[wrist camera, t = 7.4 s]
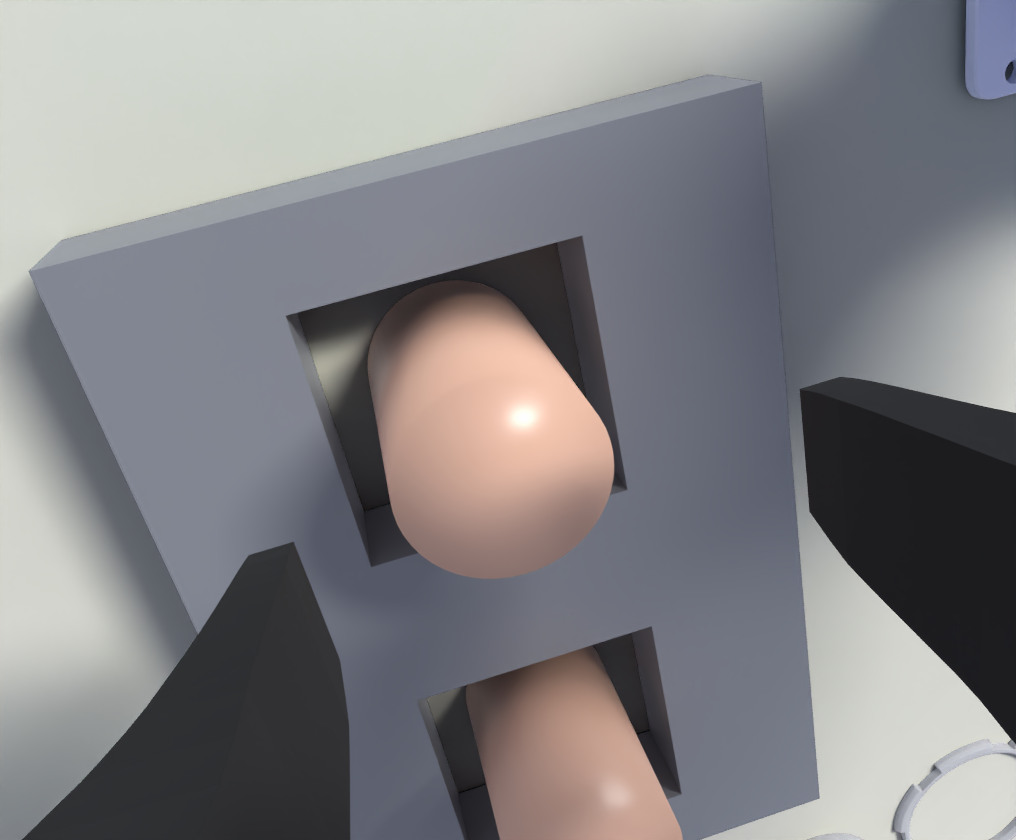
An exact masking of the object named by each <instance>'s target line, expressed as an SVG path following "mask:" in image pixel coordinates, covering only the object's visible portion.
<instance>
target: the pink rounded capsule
mask: <svg viewBox="0 0 1016 840" xmlns="http://www.w3.org/2000/svg"><path fill="white" fill-rule="evenodd" d="M367 365H368V377H369V383H370V389H371V394H372V400H373V406H374V411H375V417H376V423H377V429H378V434H379V440H380V446H381V452H382V457H383V463H384V469H385V474H386V480H387V486H388V492H389V497H390V502H391V507H392V512H393V515H394V517H395V520H396V523H397V525H398V527H399V528H400V530H401V532H402V534H403V536H404V537H405V538H406V540H407V541H408V542H409V543H410V545H411V546H412V547H413V548H414V549H415V550H416V551H417V552H418V553H419V554H420V555H421V556H423V557H424V558H426V559H427V560H428V561H430V562H431V563H433V564H435V565H437V566H438V567H440V568H442V569H444V570H447V571H450V572H452V573H455V574H458V575H462V576H467V577H472V578H481V579H500V578H509V577H514V576H519V575H523V574H527V573H530V572H532V571H535V570H538V569H540V568H543V567H545V566H547V565H549V564H551V563H553V562H554V561H556V560H558V559H559V558H561V557H563V556H564V555H565V554H567V553H568V552H569V551H571V550H572V549H573V548H574V547H576V546H577V545H578V544H579V543H580V542H581V541H582V540H583V539H584V538H585V537H586V535H587V534H588V533H589V532H590V531H591V529H592V528H593V527H594V525H595V524H596V522H597V521H598V519H599V518H600V516H601V514H602V512H603V510H604V508H605V506H606V504H607V501H608V498H609V495H610V492H611V488H612V483H613V478H614V456H613V449H612V445H611V441H610V437H609V435H608V432H607V430H606V427H605V426H604V424H603V422H602V421H601V419H600V417H599V415H598V414H597V413H596V411H595V410H594V409H593V407H592V406H591V405H590V403H589V402H588V401H587V399H586V398H585V397H584V395H583V394H582V392H581V391H580V390H579V388H578V387H577V386H576V384H575V383H574V382H573V380H572V379H571V378H570V376H569V375H568V373H567V372H566V371H565V369H564V368H563V367H562V365H561V364H560V363H559V361H558V360H557V359H556V357H555V356H554V354H553V353H552V352H551V350H550V349H549V348H548V346H547V345H546V344H545V342H544V341H543V340H542V338H541V337H540V336H539V334H538V333H537V331H536V330H535V329H534V327H533V326H532V325H531V323H530V322H529V321H528V319H527V318H526V317H525V315H524V314H523V313H522V311H521V310H520V309H519V308H518V306H517V305H516V304H515V303H513V302H512V301H511V300H510V299H509V298H508V297H506V296H505V295H503V294H502V293H501V292H499V291H497V290H495V289H493V288H491V287H488V286H486V285H483V284H480V283H475V282H471V281H460V280H454V281H443V282H437V283H433V284H430V285H427V286H424V287H421V288H419V289H417V290H415V291H413V292H411V293H410V294H408V295H406V296H405V297H403V298H402V299H401V300H400V301H398V302H397V303H396V304H395V305H394V306H393V307H392V308H391V309H390V310H389V311H388V312H387V313H386V315H385V316H384V317H383V319H382V320H381V322H380V323H379V325H378V327H377V329H376V331H375V332H374V335H373V338H372V341H371V344H370V348H369V353H368V364H367Z"/></svg>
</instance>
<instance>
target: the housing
mask: <svg viewBox="0 0 1016 840" xmlns="http://www.w3.org/2000/svg"><path fill="white" fill-rule="evenodd" d="M556 242H557V246H558V252H559V257H560V262H561V267H562V272H563V278H564V283H565V288H566V293H567V299H568V304H569V309H570V314H571V319H572V325H573V330H574V335H575V340H576V346H577V351H578V356H579V361H580V366H581V372H582V377H583V382H584V387H585V393H586V398H587V401H588V402H589V403H590V405H591V406H592V407H593V409H594V410H595V411H596V413H597V414H598V415H599V417H600V419H601V421H602V422H603V424H604V426H605V427H606V430H607V432H608V435H609V437H610V441H611V445H612V449H613V456H614V478H613V483H612V488H611V492H610V495H609V498H608V501H607V504H606V506H605V508H604V510H603V512H602V514H601V516H600V518H599V519H598V521H597V522H596V524H595V525H594V527H593V528H592V529H591V531H590V532H589V533H588V534H587V535H586V537H585V538H584V539H583V540H582V541H581V542H580V543H579V544H578V545H577V546H576V547H574V548H573V549H572V550H571V551H569V552H568V553H567V554H565V555H564V556H563V557H561V558H559V559H558V560H556V561H554V562H553V563H551V564H549V565H547V566H545V567H543V568H540V569H538V570H535V571H532V572H530V573H527V574H523V575H519V576H514V577H509V578H500V579H481V578H472V577H467V576H462V575H458V574H455V573H452V572H450V571H447V570H444V569H442V568H440V567H438V566H437V565H435V564H433V563H431V562H430V561H428V560H427V559H426V558H424V557H423V556H421V555H420V554H419V553H418V552H417V551H416V550H415V549H414V548H413V547H412V546H411V545H410V543H409V542H408V541H407V540H406V538H405V537H404V536H403V534H402V532H401V530H400V528H399V527H398V525H397V523H396V520H395V517H394V515H393V512H392V507H391V504H388V505H385V506H381V507H378V508H375V509H371V510H368V511H365V512H364V511H363V508H362V505H361V502H360V499H359V496H358V493H357V490H356V487H355V484H354V481H353V478H352V475H351V472H350V469H349V466H348V463H347V460H346V457H345V454H344V451H343V448H342V445H341V442H340V439H339V436H338V433H337V430H336V427H335V424H334V421H333V418H332V415H331V412H330V409H329V406H328V403H327V400H326V397H325V394H324V391H323V388H322V385H321V382H320V379H319V376H318V373H317V370H316V367H315V364H314V361H313V359H312V356H311V353H310V350H309V347H308V344H307V341H306V338H305V335H304V332H303V329H302V326H301V323H300V320H299V317H298V314H297V313H298V312H301V311H305V310H309V309H313V308H316V307H320V306H324V305H327V304H331V303H335V302H338V301H342V300H346V299H350V298H353V297H357V296H361V295H364V294H368V293H372V292H375V291H379V290H383V289H386V288H390V287H394V286H398V285H401V284H405V283H409V282H412V281H416V280H420V279H423V278H427V277H431V276H434V275H438V274H442V273H446V272H449V271H453V270H457V269H460V268H464V267H468V266H471V265H475V264H479V263H482V262H486V261H490V260H494V259H497V258H501V257H505V256H508V255H512V254H516V253H519V252H523V251H527V250H530V249H534V248H538V247H542V246H545V245H549V244H553V243H556ZM29 273H30V275H31V278H32V280H33V282H34V284H35V286H36V288H37V290H38V293H39V295H40V297H41V299H42V301H43V303H44V305H45V308H46V310H47V312H48V314H49V316H50V318H51V320H52V323H53V325H54V327H55V329H56V331H57V333H58V335H59V338H60V340H61V342H62V344H63V346H64V348H65V351H66V353H67V355H68V357H69V359H70V361H71V363H72V366H73V368H74V370H75V372H76V374H77V376H78V378H79V381H80V383H81V385H82V387H83V389H84V391H85V393H86V396H87V398H88V400H89V402H90V404H91V406H92V408H93V411H94V413H95V415H96V417H97V419H98V421H99V423H100V426H101V428H102V430H103V432H104V434H105V436H106V439H107V441H108V443H109V445H110V447H111V449H112V451H113V454H114V456H115V458H116V460H117V462H118V464H119V466H120V469H121V471H122V473H123V475H124V477H125V479H126V481H127V484H128V486H129V488H130V490H131V492H132V494H133V496H134V499H135V501H136V503H137V505H138V507H139V509H140V512H141V514H142V516H143V518H144V520H145V522H146V524H147V527H148V529H149V531H150V533H151V535H152V537H153V539H154V542H155V544H156V546H157V548H158V550H159V552H160V554H161V557H162V559H163V561H164V563H165V565H166V567H167V569H168V572H169V574H170V576H171V578H172V580H173V582H174V584H175V587H176V589H177V591H178V593H179V595H180V597H181V600H182V602H183V604H184V606H185V608H186V610H187V612H188V615H189V617H190V619H191V621H192V623H193V625H194V627H195V630H196V632H197V634H199V632H200V631H201V629H202V628H203V626H204V625H205V623H206V622H207V620H208V618H209V617H210V615H211V614H212V612H213V611H214V609H215V608H216V606H217V604H218V603H219V601H220V600H221V598H222V596H223V595H224V593H225V591H226V590H227V588H228V587H229V585H230V583H231V582H232V580H233V578H234V577H235V575H236V574H237V572H238V570H239V569H240V567H241V566H242V564H243V563H244V561H245V560H246V558H247V557H248V555H251V554H254V553H258V552H261V551H264V550H267V549H271V548H274V547H277V546H281V545H284V544H287V543H291V542H294V544H295V546H296V549H297V551H298V554H299V556H300V559H301V562H302V564H303V567H304V569H305V572H306V574H307V577H308V579H309V582H310V584H311V587H312V590H313V592H314V595H315V597H316V600H317V602H318V605H319V607H320V610H321V613H322V615H323V618H324V620H325V623H326V625H327V628H328V630H329V633H330V635H331V638H332V641H333V643H334V646H335V648H336V651H337V653H338V656H339V658H340V663H341V670H342V676H343V683H344V690H345V697H346V704H347V712H348V719H349V737H350V840H500V837H499V833H498V829H497V825H496V821H495V817H494V813H493V809H492V805H491V801H490V797H489V793H488V789H487V784H486V785H483V786H480V787H477V788H474V789H471V790H468V791H465V792H462V793H459V794H458V791H457V788H456V785H455V782H454V779H453V776H452V774H451V771H450V768H449V765H448V762H447V759H446V756H445V753H444V750H443V747H442V744H441V741H440V738H439V735H438V732H437V729H436V726H435V723H434V720H433V717H432V714H431V711H430V708H429V705H428V702H427V699H426V698H428V697H431V696H434V695H437V694H440V693H443V692H446V691H450V690H453V689H456V688H459V687H462V686H465V685H468V684H472V683H475V682H478V681H481V680H484V679H487V678H490V677H494V676H497V675H500V674H503V673H506V672H509V671H512V670H516V669H519V668H522V667H525V666H528V665H531V664H534V663H538V662H541V661H544V660H547V659H550V658H553V657H556V656H560V655H563V654H566V653H569V652H572V651H575V650H578V649H582V648H585V647H588V646H591V645H594V644H597V643H600V642H604V641H607V640H610V639H613V638H616V637H619V636H622V635H626V634H629V633H632V638H633V643H634V648H635V654H636V659H637V664H638V669H639V674H640V680H641V685H642V690H643V695H644V701H645V706H646V711H647V716H648V721H649V727H650V731H647V732H644V733H641V734H638V735H637V737H638V739H639V741H640V743H641V745H642V747H643V749H644V752H645V754H646V756H647V758H648V760H649V762H650V764H651V766H652V769H653V771H654V773H655V775H656V777H657V779H658V781H659V783H660V785H661V788H662V790H663V792H664V794H665V796H666V798H667V800H668V802H669V805H670V807H671V809H672V811H673V813H674V815H675V817H676V819H677V822H678V824H679V826H680V828H681V832H682V838H683V840H700V839H703V838H706V837H709V836H712V835H715V834H718V833H720V832H723V831H726V830H729V829H732V828H735V827H738V826H741V825H744V824H747V823H749V822H752V821H755V820H758V819H761V818H764V817H767V816H770V815H773V814H776V813H778V812H781V811H784V810H787V809H790V808H793V807H796V806H799V805H802V804H805V803H807V802H810V801H813V800H816V799H819V785H818V773H817V761H816V749H815V736H814V724H813V712H812V699H811V687H810V675H809V663H808V650H807V638H806V626H805V613H804V601H803V589H802V577H801V564H800V552H799V540H798V527H797V515H796V503H795V491H794V478H793V466H792V454H791V441H790V429H789V417H788V405H787V392H786V380H785V368H784V355H783V343H782V331H781V318H780V306H779V294H778V282H777V269H776V257H775V245H774V232H773V220H772V208H771V196H770V183H769V171H768V159H767V146H766V134H765V122H764V110H763V97H762V85H761V82H757V81H750V80H743V79H736V78H729V77H722V76H715V75H705V76H701V77H697V78H693V79H689V80H685V81H682V82H678V83H674V84H670V85H666V86H662V87H658V88H654V89H650V90H646V91H642V92H639V93H635V94H631V95H627V96H623V97H619V98H615V99H611V100H607V101H603V102H599V103H596V104H592V105H588V106H584V107H580V108H576V109H572V110H568V111H564V112H560V113H556V114H553V115H549V116H545V117H541V118H537V119H533V120H529V121H525V122H521V123H517V124H514V125H510V126H506V127H502V128H498V129H494V130H490V131H486V132H482V133H478V134H474V135H471V136H467V137H463V138H459V139H455V140H451V141H447V142H443V143H439V144H435V145H431V146H428V147H424V148H420V149H416V150H412V151H408V152H404V153H400V154H396V155H392V156H388V157H385V158H381V159H377V160H373V161H369V162H365V163H361V164H357V165H353V166H349V167H346V168H342V169H338V170H334V171H330V172H326V173H322V174H318V175H314V176H310V177H306V178H303V179H299V180H295V181H291V182H287V183H283V184H279V185H275V186H271V187H267V188H263V189H260V190H256V191H252V192H248V193H244V194H240V195H236V196H232V197H228V198H224V199H220V200H217V201H213V202H209V203H205V204H201V205H197V206H193V207H189V208H185V209H181V210H178V211H174V212H170V213H166V214H162V215H158V216H154V217H150V218H146V219H142V220H138V221H135V222H131V223H127V224H123V225H119V226H115V227H111V228H107V229H103V230H99V231H95V232H92V233H88V234H84V235H80V236H76V237H72V238H68V239H64V240H61V241H60V242H59V243H58V244H57V245H56V246H55V247H54V248H53V249H52V250H51V251H50V252H49V253H48V254H47V255H45V256H44V257H43V258H42V259H41V260H40V261H39V262H38V263H37V264H36V265H35V266H34V267H33V268H32V269H31V270H30V271H29Z"/></svg>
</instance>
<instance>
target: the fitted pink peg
mask: <svg viewBox="0 0 1016 840" xmlns="http://www.w3.org/2000/svg"><path fill="white" fill-rule="evenodd" d="M466 703H467V707H468V711H469V715H470V720H471V724H472V728H473V732H474V736H475V740H476V744H477V748H478V752H479V756H480V760H481V764H482V768H483V772H484V776H485V780H486V784H487V789H488V793H489V797H490V801H491V805H492V809H493V813H494V817H495V821H496V825H497V829H498V833H499V837H500V840H683V838H682V832H681V828H680V826H679V824H678V822H677V819H676V817H675V815H674V813H673V811H672V809H671V807H670V805H669V802H668V800H667V798H666V796H665V794H664V792H663V790H662V788H661V785H660V783H659V781H658V779H657V777H656V775H655V773H654V771H653V769H652V766H651V764H650V762H649V760H648V758H647V756H646V754H645V752H644V749H643V747H642V745H641V743H640V741H639V739H638V737H637V735H636V732H635V730H634V728H633V726H632V724H631V722H630V720H629V718H628V716H627V713H626V711H625V709H624V707H623V705H622V703H621V701H620V699H619V696H618V694H617V692H616V690H615V688H614V686H613V684H612V682H611V679H610V677H609V675H608V673H607V671H606V669H605V667H604V665H603V663H602V660H601V658H600V656H599V654H598V652H597V651H596V649H595V648H594V646H593V645H591V646H588V647H585V648H582V649H578V650H575V651H572V652H569V653H566V654H563V655H560V656H556V657H553V658H550V659H547V660H544V661H541V662H538V663H534V664H531V665H528V666H525V667H522V668H519V669H516V670H512V671H509V672H506V673H503V674H500V675H497V676H494V677H490V678H487V679H484V680H481V681H478V682H475V683H472V684H468V685H467V686H466Z"/></svg>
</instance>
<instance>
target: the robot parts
mask: <svg viewBox="0 0 1016 840" xmlns="http://www.w3.org/2000/svg"><path fill="white" fill-rule="evenodd" d="M996 753H1007V754H1013V755H1016V744H1015V743H1014V742H1013V741H1012V739H1011V741H1010V742H1009V744H1004V743H997V744H991V742H990V740H989V739H985V740H980V741H977V742H974V743H971V744H968V745H965V746H963V747H961V748H959V749H957V750H955V751H953V752H951V753H949V754H948V755H946V756H944V757H943V758H941V759H940V760H938V761H937V762H936V763H934V765H935V766H936V769H935V770H933V771H932V772H931V773H930V774H929V775H928V776H927V777H926V778H925V779H924V780H923V781H922V782H921V783H920V784H919V785H916V784H912V786H911V787H910V788H909V790H908V791H907V793H906V794H905V796H904V797H903V799H902V801H901V803H900V805H899V807H898V810H897V813H896V816H895V820H894V830H895V831H896V832H899V833H901V835H902V839H903V840H912V838H911V835H910V821H911V817H912V814H913V812H914V810H915V808H916V806H917V804H918V802H919V801H920V799H921V798H922V797H923V795H924V794H925V793H926V792H927V790H928V789H929V788H930V787H931V786H932V785H933V784H934V783H935V782H936V781H937V780H939V779H940V778H941V777H942V776H944V775H945V774H946V773H948V772H949V771H951V770H952V769H954V768H956V767H957V766H959V765H961V764H963V763H965V762H967V761H970V760H972V759H975V758H977V757H981V756H985V755H989V754H996ZM1015 836H1016V817H1015V818H1014V820H1013V821H1012V822H1011V823H1010V824H1009V825H1008V826H1007V827H1005V828H1004V829H1003V830H1002V831H1001V832H999V833H998V834H997V835H995V836H994V837H992V838H991V839H989V840H1011V839H1012V838H1014V837H1015ZM807 840H863V839H862V838H860V837H857V836H855V835H851V834H844V833H832V834H825V835H820V836H816V837H813V838H810V839H807Z"/></svg>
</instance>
